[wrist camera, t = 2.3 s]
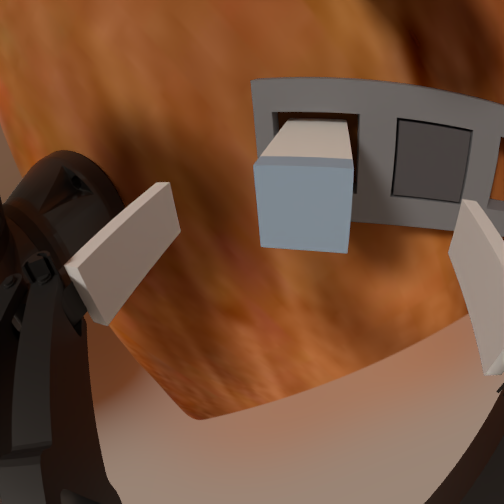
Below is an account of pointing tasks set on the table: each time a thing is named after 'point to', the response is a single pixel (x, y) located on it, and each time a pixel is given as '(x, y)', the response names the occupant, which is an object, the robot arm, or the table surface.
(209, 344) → the table surface
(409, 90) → the panel
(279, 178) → the plug
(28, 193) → the robot arm
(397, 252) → the table surface
